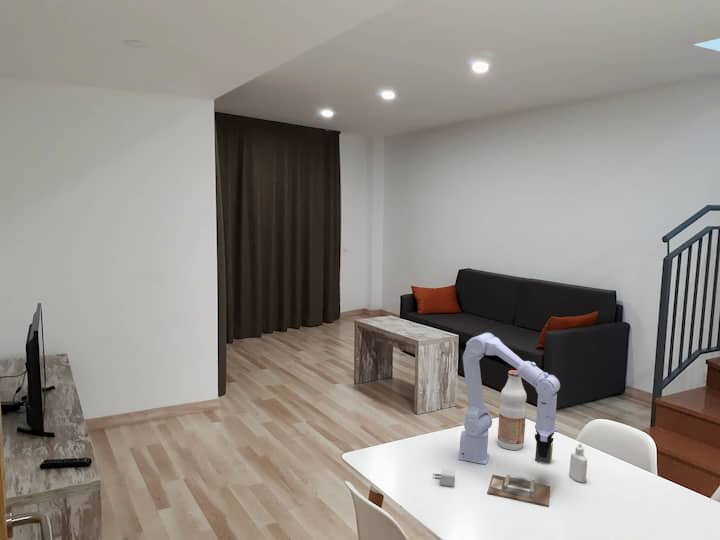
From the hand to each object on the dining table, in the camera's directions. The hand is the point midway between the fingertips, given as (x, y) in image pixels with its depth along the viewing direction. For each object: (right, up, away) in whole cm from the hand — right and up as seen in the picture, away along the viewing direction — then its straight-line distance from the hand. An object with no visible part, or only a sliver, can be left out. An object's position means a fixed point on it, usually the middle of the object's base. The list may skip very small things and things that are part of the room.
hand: (543, 454), depth 177 cm
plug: (0, -2, 0) cm, 2 cm away
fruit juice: (-3, -6, +27) cm, 27 cm away
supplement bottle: (+5, -7, +15) cm, 18 cm away
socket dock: (-9, -9, -6) cm, 15 cm away
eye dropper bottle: (+12, -9, +3) cm, 15 cm away
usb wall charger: (-33, -9, -3) cm, 34 cm away
